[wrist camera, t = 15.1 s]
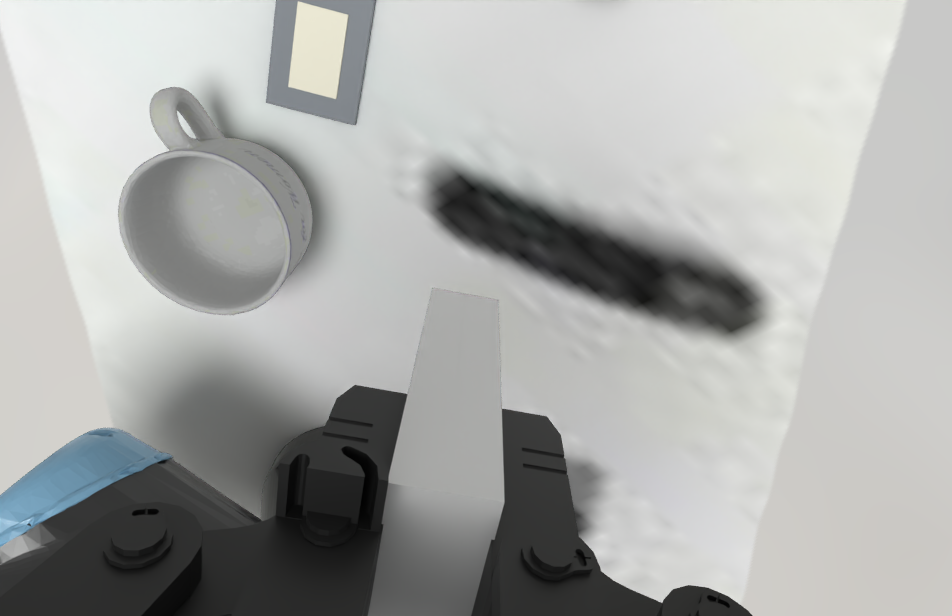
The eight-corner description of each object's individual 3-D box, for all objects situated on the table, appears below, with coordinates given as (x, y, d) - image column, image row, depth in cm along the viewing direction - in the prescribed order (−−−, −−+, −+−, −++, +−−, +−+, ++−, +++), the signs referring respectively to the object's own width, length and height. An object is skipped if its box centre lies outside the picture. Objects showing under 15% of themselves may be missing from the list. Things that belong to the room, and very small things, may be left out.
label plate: (356, 123, 42) (353, 125, 42) (269, 101, 42) (264, 102, 41) (376, -3, 39) (373, -4, 38) (282, -29, 39) (277, -30, 38)
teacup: (330, 274, 47) (299, 320, 40) (190, 271, 48) (133, 316, 40) (311, 80, 41) (271, 92, 34) (152, 78, 42) (78, 89, 34)
